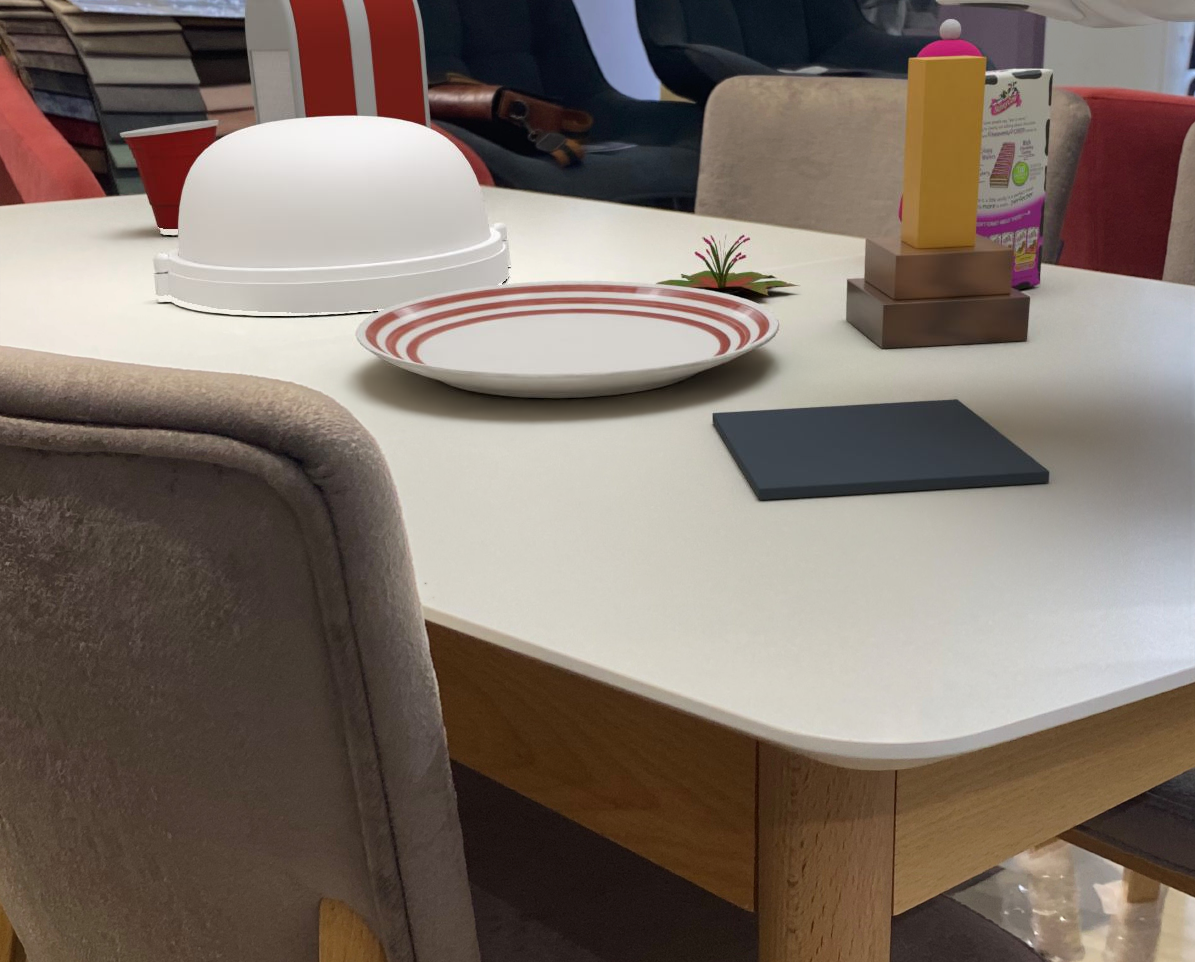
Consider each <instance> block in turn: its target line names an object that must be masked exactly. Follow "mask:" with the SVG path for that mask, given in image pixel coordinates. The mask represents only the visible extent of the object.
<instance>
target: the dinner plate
mask: <svg viewBox="0 0 1195 962" xmlns="http://www.w3.org/2000/svg"><path fill="white" fill-rule="evenodd" d="M725 293H726V292H724V293H720V292H718V291H717V292H715V291H710V290H704V289H697V288H690V287H681V286H672V285H662V284H656V283H651V282H650V283H647V282H635V281H613V280H612V281H611V280H610V281H609V280H551V281H550V280H549V281H530V282H516V283H515V282H514V283H503V284H502V285H494V286H485V287H478V288H471V289H464V290H458V291H452V292H447V293H441V294H436V295H431V296H427V297H422V298H419V299H415V300H411V301H407V302H404V303H401V304H398V305H395V306H392V307H389V308H386V309H384V310H381V311H378V312H374V314H371V315H369V316H368V317H366V318H365V319H364V320H363V321H362V322H361V323H359V325H358V326H357V328H356V330H355V336H356V340H357V342H358V343H359V344H360V345H361V347H363V348H364V349H366V350H367V351H369V352H370V353H371V354H373V355H374V356H376V357H378V358H380V359H382V360H384V361H386V362H387V363H389V364H392V365H393V366H396V367H398V368H401V369H403V370H405V371H408V372H411V373H414V374H417V375H420V376H422V377H426V378H430V379H433V380H437V381H439V382H441V383H444V384H447V385H449V386H451V387H455V388H457V389H460V390H466V391H470V392H475V393H480V394H487V395H493V396H495V395H496V396H504V397H514V398H536V399H537V398H538V399H571V398H573V399H574V398H577V399H578V398H579V399H580V398H594V397H604V396H605V397H606V396H616V395H624V394H632V393H638V392H645V391H649V390H653V389H658V388H662V387H667V386H670V385H673V384H676V383H679V382H682V381H684V380H687V379H689V378H691V377H693V376H695V375H697V374H698V373H701V372H703V371H707V370H709V369H712V368H715V367H717V366H721V365H722V364H725V363H728V362H730V361H732V360H734V359H737V358H739V357H740V356H742V355H744V354H747V353H749V352H752V351H754V350H756V349H758V348H760V347H762V346H764V345H766V344H768V343H769V342H771V341H772V339H774V338H775V337H776V336H777V334H778V332H779V330H780V322H779V319H778V318H777V316H776V314H775V313H773V311H771V310H770V309H769V308H767V307H766V306H764V305H762V304H760V303H757V302H755V301H752V300H750V299H747V298H744V297H740V296H736V295H733V294H730V293H728V294H725Z"/></svg>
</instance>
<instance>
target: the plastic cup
mask: <svg viewBox="0 0 1195 962" xmlns="http://www.w3.org/2000/svg"><path fill="white" fill-rule="evenodd" d="M219 121H220V120H219V119H209V120H199V121H190V122H181V123H174V124H166V125H160V126H159V125H158V126H153V127H146V128H139V129H134V130H129V131H123V132H120V133H119V136H120V137H121V138H123V140H124V142H125V143H126V144H127V147H128V149H129V150H130V152H131V155H132V158H133V159H134V161H135V164H136V167H137V169H138V174H139V176H140V179H141V182H142V185H143V188H144V191H145V194H146V197H147V200H148V203H149V205H150V207H151V209H152V210H151V211H152V213H153V216H154V220H155V223H156V226H157V228H158V227H159V228H163V229H178V220H179V208H180V201H181V195H182V190H183V187H184V184H185V180H186V177H187V175H188V173H189V171H190V169H191V167H192V165H193V164H194V162H195V161H196V159H197V158H198V157H199V156H200V155H201V154H202V153H203V151H204V150H205V149H207V148H208V147H209V146H210V145H212V144H213V143H214V142H216V141H217V129H218V127H217V126H218V125H219Z"/></svg>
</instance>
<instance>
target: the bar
mask: <svg viewBox="0 0 1195 962" xmlns="http://www.w3.org/2000/svg"><path fill="white" fill-rule="evenodd" d="M987 60H988V59H987V56H983V57H978V56H946V57H921V58H916V57H909V58H908V66H907V67H908V68H907V87H906V88H907V92H906V113H905V114H906V115H905V133H904V134H905V136H904V158H903V159H904V160H903V161H904V162H903V181H902V182H903V183H902V194H903V204H902V223H901V226H900V227H901V230H900V236H901V241H903V242H905V243H907V244H909V245H911V246H913V247H915V248H917V249H927V248H947V247H967V246H975V236H976V220H977V204H978V188H979V172H980V156H981V140H982V124H983V108H984V92H985V76H986V71H987Z"/></svg>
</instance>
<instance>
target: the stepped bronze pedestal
mask: <svg viewBox="0 0 1195 962" xmlns="http://www.w3.org/2000/svg"><path fill="white" fill-rule="evenodd" d="M1013 255H1014V250H1013V249H1011V248H1009V247H1007V246H1004V245H1002V244H999V243H997V242H995V241H992V240H990V239H988V238H985V237H983V236H981V235H978V234H976V236H975V246H967V247H947V248H927V249H917V248H915V247H913V246H911V245H909V244H907V243H905V242H903V241H901V235H899V236H881V237H880V236H879V237H867V238H865V245H864V276H863V277H861V278H860V277H859V278H847V279H846V302H845V303H846V305H845V307H846V308H845V320H846V321H847V322H848V323H849V324H850V325H852V326H853V327H854V328H856V329H857V330H858V331H860V332H861V333H862V334H864V336H866V337H867V338H868V339H870V340H871V341H872V342H873V343H875V344H876V345H877V346H878V347H880V348H881V349H882V350H883V349H903V348H918V347H919V348H920V347H938V346H939V347H940V346H955V345H976V344H994V343H1011V342H1012V343H1013V342H1026V341H1028V336H1029V335H1028V334H1029V321H1030V320H1029V319H1030V308H1031V296H1030V295H1028V294H1026V293H1024V292H1022V291H1020V290H1016V289H1014V288H1012V287H1011V282H1012V268H1013Z"/></svg>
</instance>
